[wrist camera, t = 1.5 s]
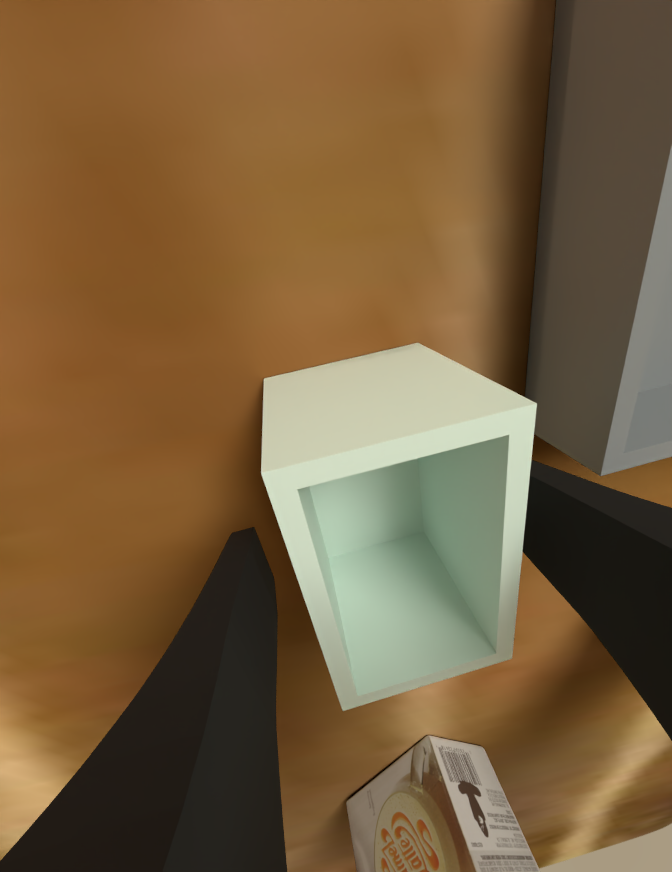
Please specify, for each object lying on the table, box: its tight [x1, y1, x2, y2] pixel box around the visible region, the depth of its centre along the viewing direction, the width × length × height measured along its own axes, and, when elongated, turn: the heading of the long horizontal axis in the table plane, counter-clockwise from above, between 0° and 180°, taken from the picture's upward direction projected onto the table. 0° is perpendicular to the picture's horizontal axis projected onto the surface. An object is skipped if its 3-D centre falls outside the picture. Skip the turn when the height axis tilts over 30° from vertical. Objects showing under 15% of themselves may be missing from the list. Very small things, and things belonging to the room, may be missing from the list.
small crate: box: [261, 343, 537, 711], centre depth 10 cm, size 8×5×6 cm, turn 11°
